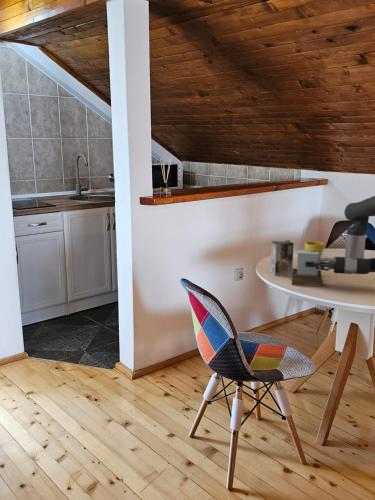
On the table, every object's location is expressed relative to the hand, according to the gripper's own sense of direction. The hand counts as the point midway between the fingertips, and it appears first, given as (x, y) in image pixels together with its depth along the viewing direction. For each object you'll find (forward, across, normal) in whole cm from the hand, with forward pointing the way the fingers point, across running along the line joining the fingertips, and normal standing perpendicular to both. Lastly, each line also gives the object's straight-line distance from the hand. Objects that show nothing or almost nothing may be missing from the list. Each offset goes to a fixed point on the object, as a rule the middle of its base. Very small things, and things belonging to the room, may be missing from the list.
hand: (305, 263), depth 215 cm
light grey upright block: (-1, 0, +7) cm, 7 cm away
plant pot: (-5, -45, +10) cm, 46 cm away
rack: (-1, -3, +10) cm, 10 cm away
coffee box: (+11, -14, +10) cm, 20 cm away
